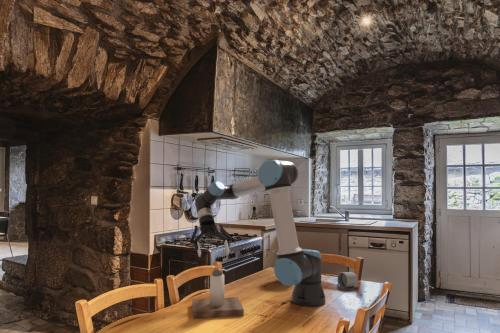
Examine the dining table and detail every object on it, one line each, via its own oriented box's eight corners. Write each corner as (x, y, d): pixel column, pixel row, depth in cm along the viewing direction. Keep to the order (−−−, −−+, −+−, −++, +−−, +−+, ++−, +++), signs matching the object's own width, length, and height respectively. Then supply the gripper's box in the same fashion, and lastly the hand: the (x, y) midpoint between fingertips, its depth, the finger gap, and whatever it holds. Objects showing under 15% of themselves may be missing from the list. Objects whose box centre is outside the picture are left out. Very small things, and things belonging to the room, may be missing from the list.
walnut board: (237, 302, 159) (237, 297, 159) (243, 315, 143) (243, 309, 143) (192, 305, 155) (192, 299, 155) (193, 318, 140) (193, 312, 140)
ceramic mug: (359, 287, 184) (359, 272, 185) (347, 289, 180) (347, 274, 181) (345, 282, 193) (344, 268, 194) (333, 284, 190) (333, 270, 190)
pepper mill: (223, 301, 153) (223, 266, 154) (224, 306, 147) (225, 269, 148) (209, 302, 152) (209, 267, 153) (210, 306, 146) (210, 270, 147)
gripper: (228, 222, 186) (238, 256, 171) (180, 225, 177) (186, 261, 162) (231, 213, 182) (241, 247, 167) (182, 215, 173) (188, 251, 158)
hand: (214, 254), depth 164 cm, fingers open, 13 cm apart
